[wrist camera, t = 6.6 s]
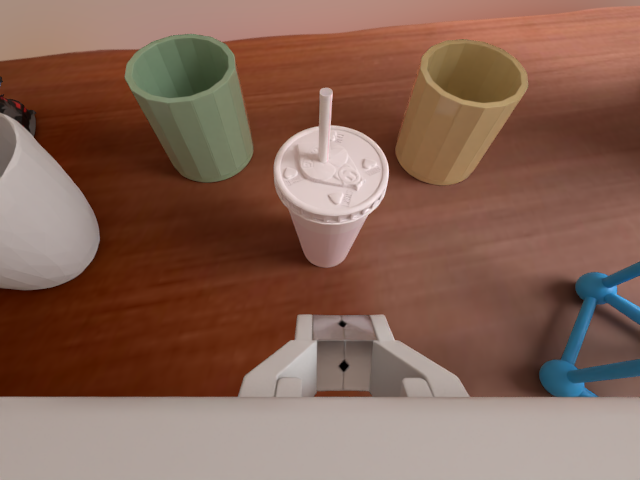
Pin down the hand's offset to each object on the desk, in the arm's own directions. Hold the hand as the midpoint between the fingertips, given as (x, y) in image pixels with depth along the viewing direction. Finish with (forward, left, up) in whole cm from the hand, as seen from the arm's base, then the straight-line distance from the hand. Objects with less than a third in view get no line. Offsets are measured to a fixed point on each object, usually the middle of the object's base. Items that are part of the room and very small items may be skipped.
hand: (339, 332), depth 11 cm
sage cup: (-1, -22, -12) cm, 25 cm away
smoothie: (-5, -8, -12) cm, 15 cm away
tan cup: (-19, -11, -12) cm, 25 cm away
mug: (+13, -20, -12) cm, 27 cm away
